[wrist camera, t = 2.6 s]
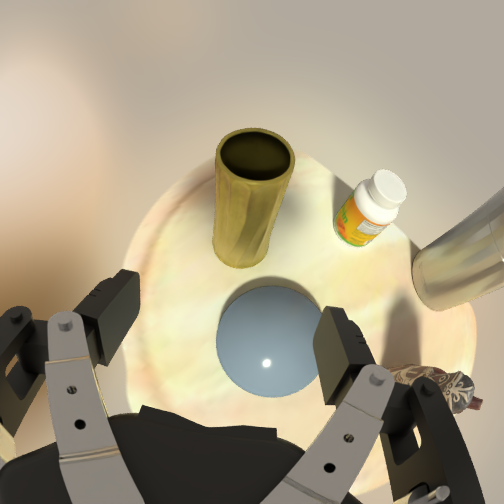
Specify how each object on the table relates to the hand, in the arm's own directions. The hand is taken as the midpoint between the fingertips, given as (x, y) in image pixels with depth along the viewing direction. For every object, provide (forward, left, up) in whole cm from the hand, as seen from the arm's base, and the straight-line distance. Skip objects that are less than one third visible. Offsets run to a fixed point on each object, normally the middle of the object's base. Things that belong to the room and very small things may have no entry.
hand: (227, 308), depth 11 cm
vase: (-3, -10, -16) cm, 19 cm away
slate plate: (-5, +1, -16) cm, 17 cm away
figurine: (-19, +10, -16) cm, 27 cm away
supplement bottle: (-17, -11, -16) cm, 26 cm away
